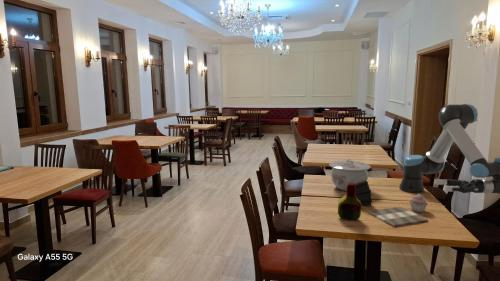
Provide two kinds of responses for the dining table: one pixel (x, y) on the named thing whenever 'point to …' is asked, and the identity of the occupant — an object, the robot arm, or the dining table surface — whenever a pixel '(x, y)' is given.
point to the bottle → (349, 204)
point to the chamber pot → (348, 173)
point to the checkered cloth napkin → (397, 216)
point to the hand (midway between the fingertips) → (439, 185)
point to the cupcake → (418, 203)
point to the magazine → (363, 193)
